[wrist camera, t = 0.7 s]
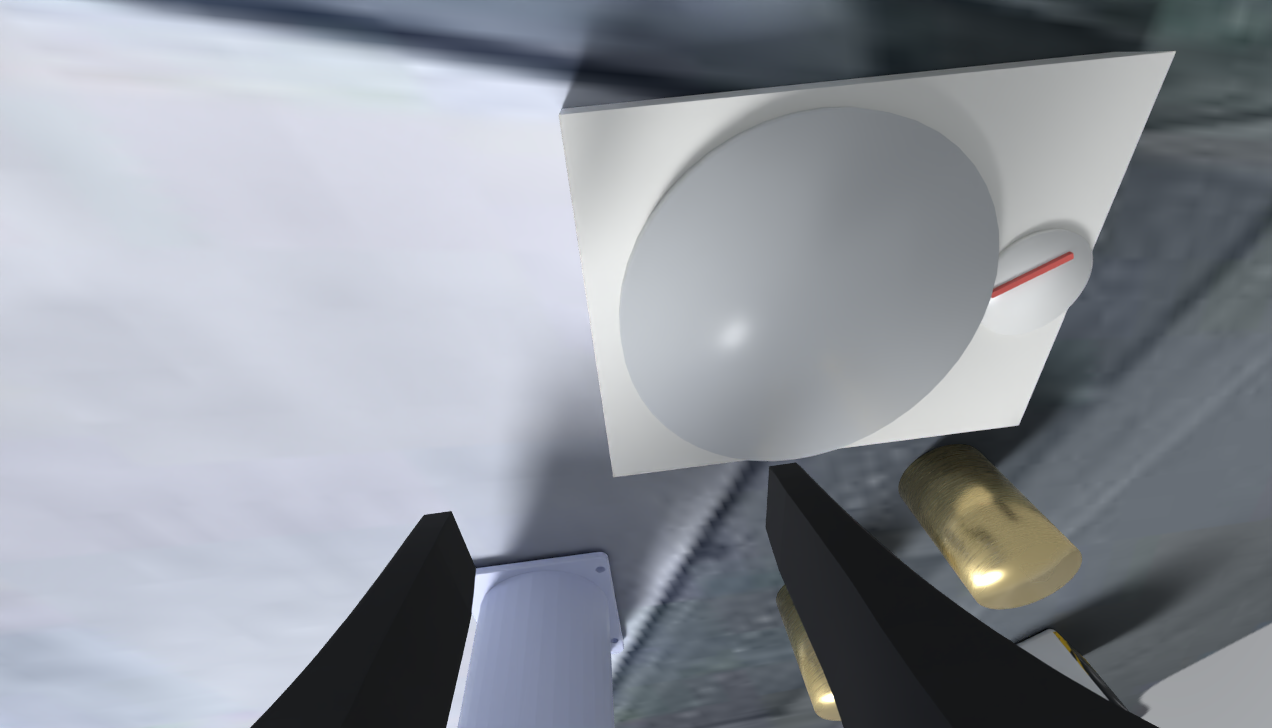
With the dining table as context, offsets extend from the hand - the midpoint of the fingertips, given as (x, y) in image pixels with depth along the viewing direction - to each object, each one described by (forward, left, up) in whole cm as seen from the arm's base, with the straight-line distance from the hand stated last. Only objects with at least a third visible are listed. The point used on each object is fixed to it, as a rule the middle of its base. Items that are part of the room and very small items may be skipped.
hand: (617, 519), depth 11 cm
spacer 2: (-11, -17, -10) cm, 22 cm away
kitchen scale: (+1, -9, -10) cm, 13 cm away
